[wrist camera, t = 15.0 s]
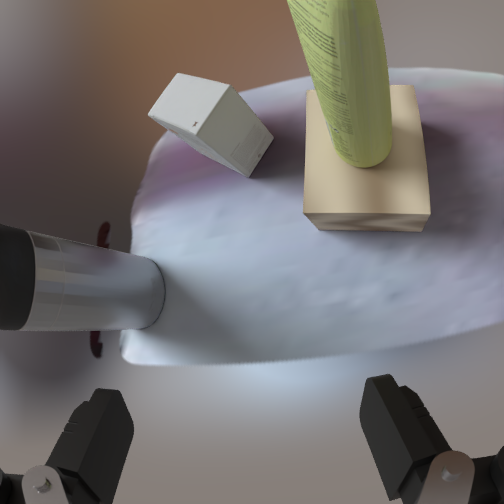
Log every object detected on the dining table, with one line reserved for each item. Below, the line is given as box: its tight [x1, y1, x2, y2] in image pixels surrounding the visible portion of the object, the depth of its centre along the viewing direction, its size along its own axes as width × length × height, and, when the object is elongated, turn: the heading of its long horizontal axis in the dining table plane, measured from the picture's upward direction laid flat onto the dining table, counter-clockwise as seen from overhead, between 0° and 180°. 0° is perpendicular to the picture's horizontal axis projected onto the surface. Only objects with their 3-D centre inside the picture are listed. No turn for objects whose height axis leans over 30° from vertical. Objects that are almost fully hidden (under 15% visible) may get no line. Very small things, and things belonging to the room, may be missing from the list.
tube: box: [287, 0, 392, 168], centre depth 14 cm, size 6×5×20 cm
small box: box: [148, 73, 274, 178], centre depth 30 cm, size 8×6×10 cm
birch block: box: [303, 85, 431, 232], centre depth 26 cm, size 10×12×6 cm
